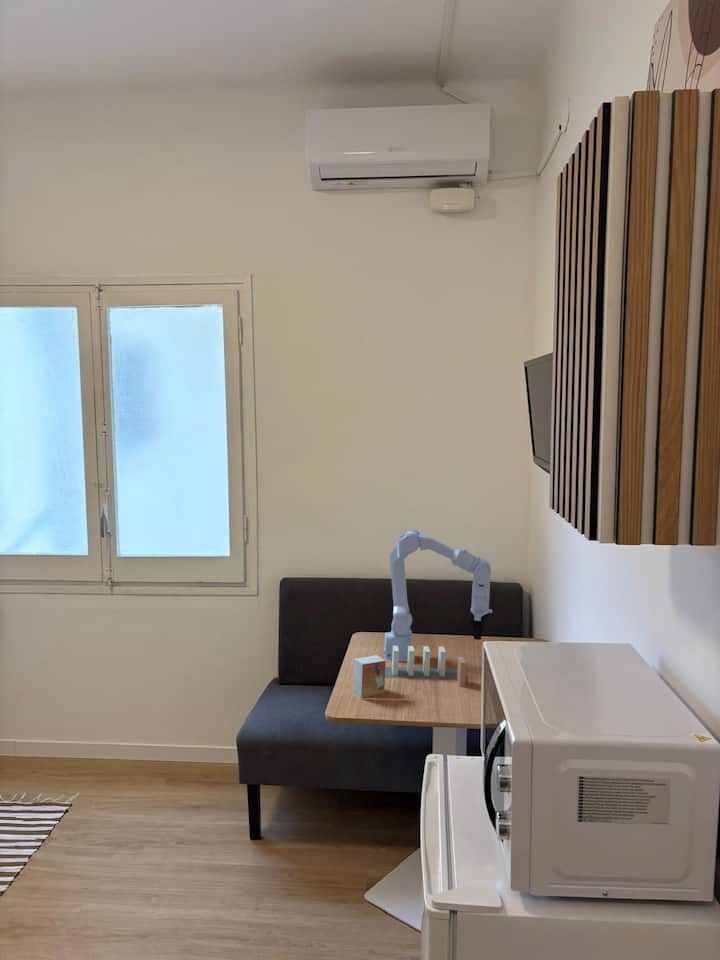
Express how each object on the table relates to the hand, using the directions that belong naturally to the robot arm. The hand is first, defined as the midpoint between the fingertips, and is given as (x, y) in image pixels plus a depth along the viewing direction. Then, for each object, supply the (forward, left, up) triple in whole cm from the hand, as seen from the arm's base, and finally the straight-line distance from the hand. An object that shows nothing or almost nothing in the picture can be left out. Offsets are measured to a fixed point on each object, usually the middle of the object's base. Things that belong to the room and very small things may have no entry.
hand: (478, 635), depth 229 cm
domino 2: (-23, -9, -10) cm, 27 cm away
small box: (-37, -25, -10) cm, 46 cm away
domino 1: (-28, -9, -10) cm, 31 cm away
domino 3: (-18, -9, -10) cm, 23 cm away
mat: (-20, -9, -10) cm, 24 cm away
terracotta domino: (-8, -17, -10) cm, 22 cm away
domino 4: (-13, -9, -10) cm, 19 cm away
